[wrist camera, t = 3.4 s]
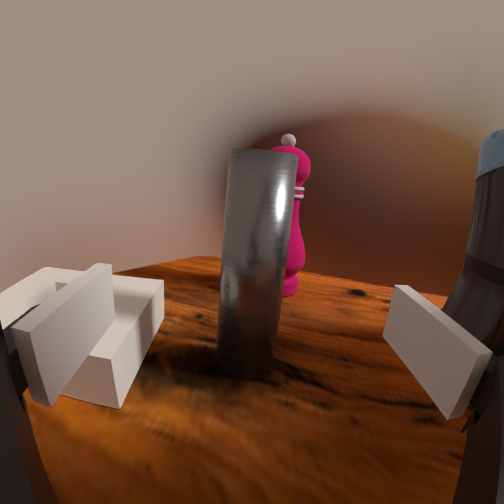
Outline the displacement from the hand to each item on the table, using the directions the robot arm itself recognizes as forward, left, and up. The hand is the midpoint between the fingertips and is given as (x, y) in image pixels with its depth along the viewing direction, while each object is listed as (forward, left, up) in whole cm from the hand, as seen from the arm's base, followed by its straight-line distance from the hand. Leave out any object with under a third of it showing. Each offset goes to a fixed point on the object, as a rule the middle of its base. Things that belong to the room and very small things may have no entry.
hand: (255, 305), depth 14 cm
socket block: (+15, -9, -9) cm, 19 cm away
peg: (0, -9, -9) cm, 12 cm away
